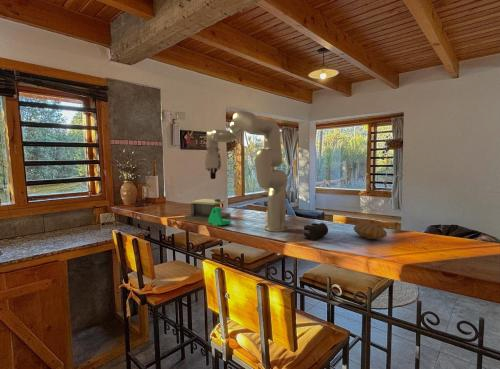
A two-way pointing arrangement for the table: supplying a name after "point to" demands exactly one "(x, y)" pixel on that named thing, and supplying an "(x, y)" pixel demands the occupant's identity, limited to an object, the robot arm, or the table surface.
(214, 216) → the camera mount
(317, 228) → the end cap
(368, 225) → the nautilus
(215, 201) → the level plate
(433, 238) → the table surface
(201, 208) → the leveling stand
